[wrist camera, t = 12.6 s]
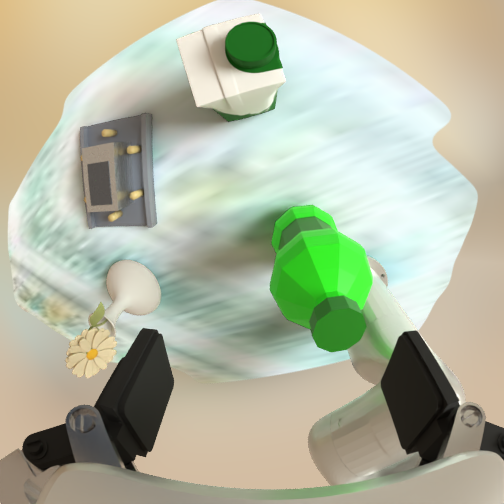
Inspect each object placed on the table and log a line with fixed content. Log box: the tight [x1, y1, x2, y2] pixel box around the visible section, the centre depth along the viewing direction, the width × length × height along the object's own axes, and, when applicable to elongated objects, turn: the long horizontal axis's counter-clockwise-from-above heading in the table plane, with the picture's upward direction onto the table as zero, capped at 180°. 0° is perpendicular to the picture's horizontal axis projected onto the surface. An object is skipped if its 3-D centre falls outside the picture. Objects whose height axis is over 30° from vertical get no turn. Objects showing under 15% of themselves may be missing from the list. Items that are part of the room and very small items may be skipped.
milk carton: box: [176, 14, 286, 122], centre depth 26 cm, size 9×9×20 cm
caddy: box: [80, 113, 157, 229], centre depth 38 cm, size 18×13×4 cm
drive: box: [82, 142, 135, 212], centre depth 36 cm, size 10×6×6 cm, turn 0°
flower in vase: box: [66, 260, 161, 378], centre depth 36 cm, size 13×11×25 cm
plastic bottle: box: [270, 205, 373, 352], centre depth 31 cm, size 10×10×25 cm
